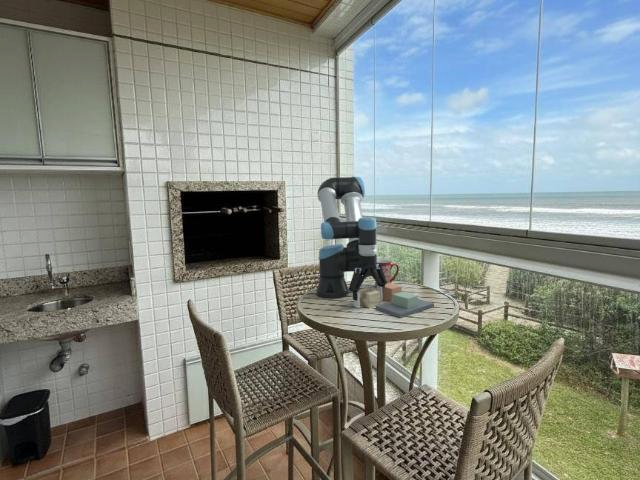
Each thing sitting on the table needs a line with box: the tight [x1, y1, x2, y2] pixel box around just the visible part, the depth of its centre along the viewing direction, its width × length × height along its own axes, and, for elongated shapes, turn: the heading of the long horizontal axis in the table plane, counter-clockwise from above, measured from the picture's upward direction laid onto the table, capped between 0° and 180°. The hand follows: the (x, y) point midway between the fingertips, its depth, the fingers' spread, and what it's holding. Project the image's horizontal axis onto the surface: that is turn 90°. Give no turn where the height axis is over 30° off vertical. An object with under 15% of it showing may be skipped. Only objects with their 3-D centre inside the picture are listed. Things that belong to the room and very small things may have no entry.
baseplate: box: [375, 291, 435, 319], centre depth 135 cm, size 13×20×6 cm, turn 125°
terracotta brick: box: [383, 283, 402, 302], centre depth 148 cm, size 8×6×6 cm
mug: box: [374, 258, 400, 289], centre depth 167 cm, size 13×9×14 cm
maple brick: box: [358, 287, 381, 309], centre depth 141 cm, size 8×6×6 cm
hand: (368, 304), depth 141 cm, fingers open, 12 cm apart
